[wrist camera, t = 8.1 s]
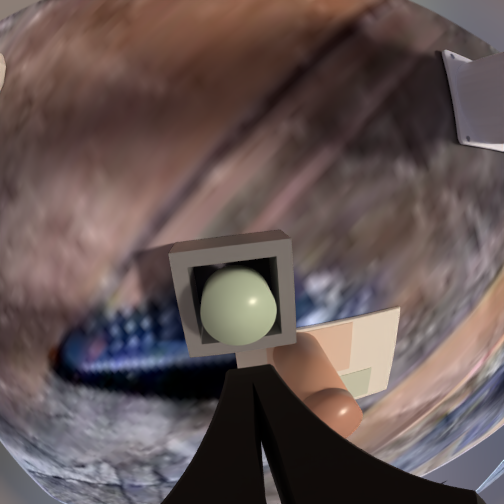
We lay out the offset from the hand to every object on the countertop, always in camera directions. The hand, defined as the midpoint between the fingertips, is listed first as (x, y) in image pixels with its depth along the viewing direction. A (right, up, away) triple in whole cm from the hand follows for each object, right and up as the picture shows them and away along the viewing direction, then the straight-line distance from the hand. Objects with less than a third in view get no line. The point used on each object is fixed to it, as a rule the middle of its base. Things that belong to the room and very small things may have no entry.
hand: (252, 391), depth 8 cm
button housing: (-1, +2, +9) cm, 9 cm away
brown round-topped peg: (+3, -2, +10) cm, 11 cm away
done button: (-1, +2, +7) cm, 7 cm away
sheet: (+5, -4, +11) cm, 13 cm away
